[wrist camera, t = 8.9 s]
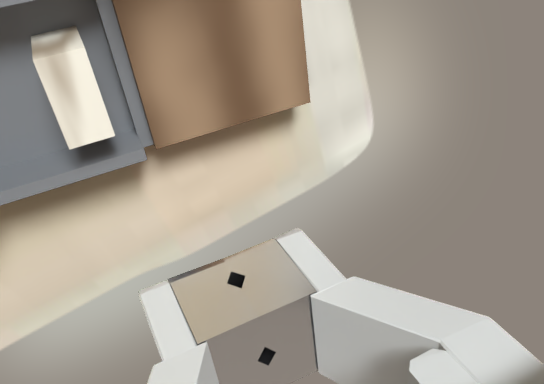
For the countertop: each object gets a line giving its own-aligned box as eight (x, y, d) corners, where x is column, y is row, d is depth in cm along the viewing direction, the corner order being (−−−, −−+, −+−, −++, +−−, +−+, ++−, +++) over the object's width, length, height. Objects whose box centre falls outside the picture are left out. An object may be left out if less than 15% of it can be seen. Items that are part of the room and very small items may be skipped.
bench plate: (147, 131, 35) (156, 149, 33) (95, -42, 29) (102, -36, 26) (292, 88, 38) (310, 102, 35) (273, -77, 32) (293, -75, 29)
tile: (103, 105, 32) (62, 116, 31) (75, 25, 29) (30, 36, 29) (115, 135, 28) (69, 149, 28) (84, 47, 25) (32, 60, 25)
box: (-41, 187, 32) (-52, 239, 27) (-144, 6, 26) (-181, 33, 21) (147, 131, 35) (167, 170, 30) (95, -42, 29) (110, -28, 24)
